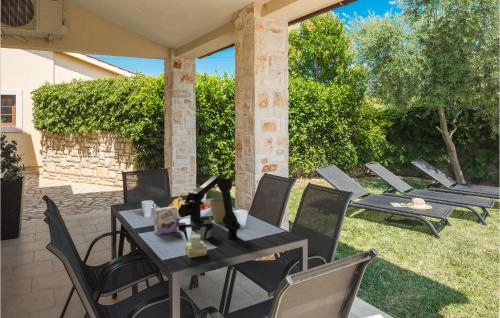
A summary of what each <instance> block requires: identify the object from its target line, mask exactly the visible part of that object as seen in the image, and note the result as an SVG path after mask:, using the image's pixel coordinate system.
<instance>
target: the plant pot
mask: <svg viewBox="0 0 500 318" xmlns="http://www.w3.org/2000/svg"><path fill="white" fill-rule="evenodd" d="M209 204H210V205H209V206H210V212H211V214H212V218H213V221H214V223H215V224H216V223H217V224H224V223H223V219H222V218H223V217H224V216H225V209H224V202H223V197H221V198H220V197H219V198H212V199H209Z"/></svg>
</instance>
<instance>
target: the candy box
mask: <svg viewBox="0 0 500 318" xmlns="http://www.w3.org/2000/svg"><path fill="white" fill-rule="evenodd" d="M177 209H178V208H177V207H176V206H174V205H172V206H166V207H160V208H159V207H158V208H153V212H154V213H153V215H154V216H153V219H154V220H153V221H154V223H153V224H154V228H153V229H154V231H153V232H154V234H156V236H160V235H165V234H166V235H167V234H170V233H175V232H178V210H177Z"/></svg>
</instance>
